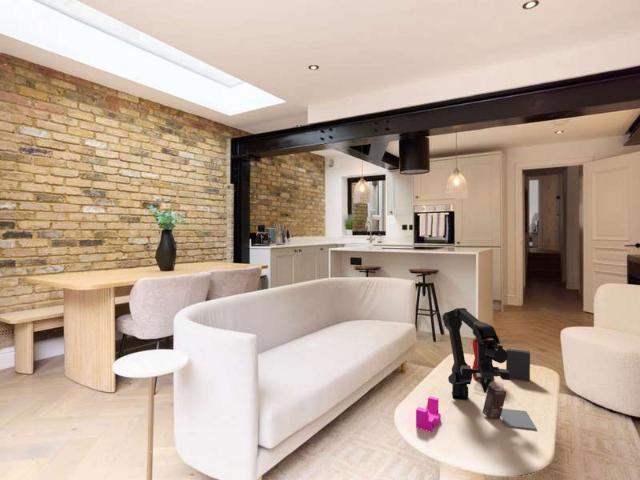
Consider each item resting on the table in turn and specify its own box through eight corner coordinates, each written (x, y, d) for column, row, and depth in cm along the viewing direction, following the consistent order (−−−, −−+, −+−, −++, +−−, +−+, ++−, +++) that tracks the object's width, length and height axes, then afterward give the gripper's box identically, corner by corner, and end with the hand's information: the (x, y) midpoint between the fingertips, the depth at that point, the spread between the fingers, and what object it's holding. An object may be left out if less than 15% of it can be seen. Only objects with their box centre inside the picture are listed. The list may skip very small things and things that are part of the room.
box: (489, 418, 153) (495, 390, 152) (482, 412, 157) (487, 385, 156) (501, 419, 154) (507, 391, 153) (493, 413, 159) (499, 386, 158)
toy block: (431, 433, 144) (431, 414, 144) (415, 428, 147) (416, 409, 147) (444, 417, 156) (444, 400, 156) (429, 413, 159) (429, 396, 159)
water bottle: (468, 373, 204) (468, 328, 203) (490, 375, 201) (490, 329, 200) (470, 380, 195) (470, 332, 194) (493, 382, 192) (493, 334, 191)
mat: (505, 426, 148) (505, 425, 148) (498, 409, 162) (498, 408, 162) (536, 430, 145) (536, 428, 145) (526, 412, 160) (526, 411, 160)
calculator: (529, 379, 196) (529, 350, 196) (529, 382, 192) (530, 353, 192) (506, 375, 201) (506, 347, 201) (506, 378, 197) (506, 350, 197)
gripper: (462, 359, 151) (462, 398, 151) (513, 363, 146) (513, 403, 146) (460, 351, 162) (460, 387, 161) (507, 355, 156) (507, 392, 156)
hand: (484, 393), depth 156 cm, fingers closed
